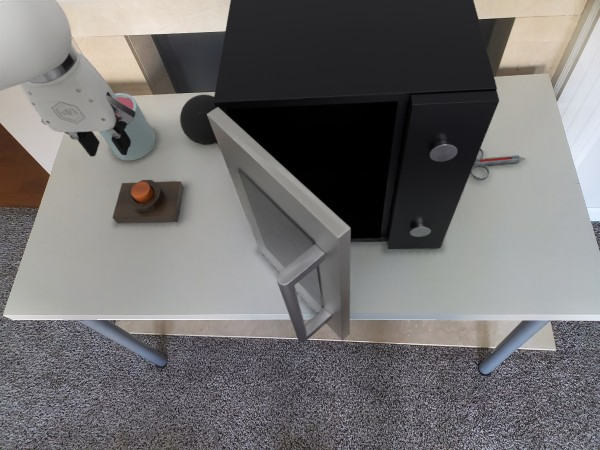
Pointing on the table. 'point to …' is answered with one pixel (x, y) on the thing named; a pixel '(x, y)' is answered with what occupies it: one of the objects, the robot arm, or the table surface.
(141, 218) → the button block
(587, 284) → the table surface
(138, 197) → the button
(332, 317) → the microwave door
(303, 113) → the microwave
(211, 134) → the speaker
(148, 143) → the mug
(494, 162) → the syringe
